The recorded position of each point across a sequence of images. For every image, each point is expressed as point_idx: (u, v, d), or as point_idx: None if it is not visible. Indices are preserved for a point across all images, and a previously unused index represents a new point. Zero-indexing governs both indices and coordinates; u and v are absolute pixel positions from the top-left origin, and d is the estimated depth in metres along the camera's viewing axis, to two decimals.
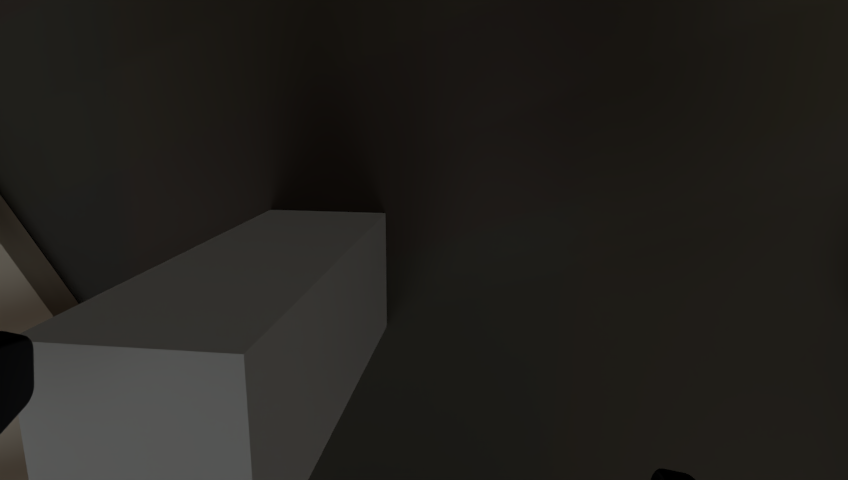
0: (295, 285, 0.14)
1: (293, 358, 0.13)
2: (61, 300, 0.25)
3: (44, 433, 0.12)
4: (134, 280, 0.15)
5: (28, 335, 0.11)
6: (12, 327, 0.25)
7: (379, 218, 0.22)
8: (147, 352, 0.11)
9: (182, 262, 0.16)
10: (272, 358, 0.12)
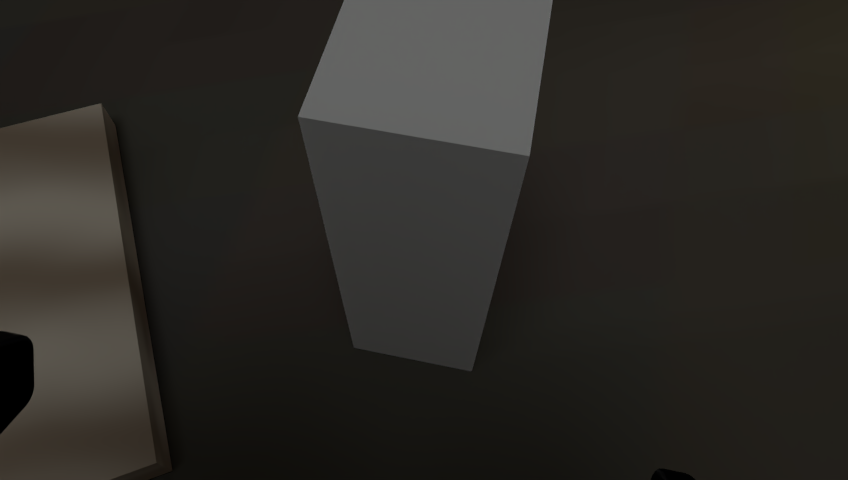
0: None
1: None
2: (135, 281, 0.24)
3: (357, 26, 0.13)
4: None
5: None
6: (74, 284, 0.23)
7: None
8: None
9: None
10: None
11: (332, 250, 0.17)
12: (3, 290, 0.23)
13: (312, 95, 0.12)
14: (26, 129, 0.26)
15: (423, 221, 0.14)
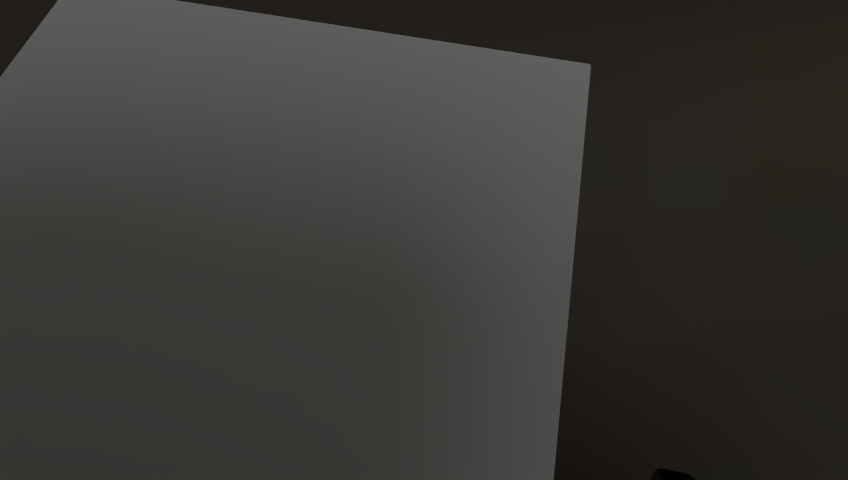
0: None
1: None
2: None
3: (10, 158, 0.04)
4: None
5: None
6: None
7: None
8: (375, 37, 0.05)
9: None
10: None
11: None
12: None
13: None
14: None
15: None
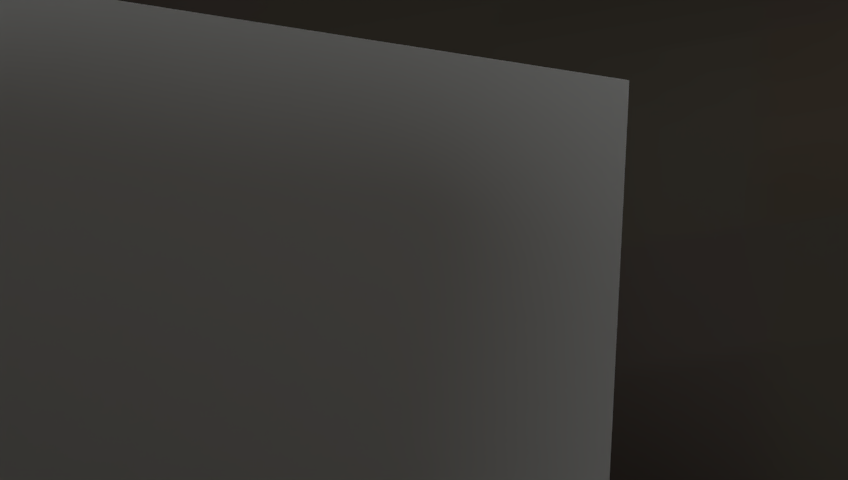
0: None
1: None
2: None
3: None
4: None
5: None
6: None
7: None
8: (309, 39, 0.03)
9: None
10: None
11: None
12: None
13: None
14: None
15: None
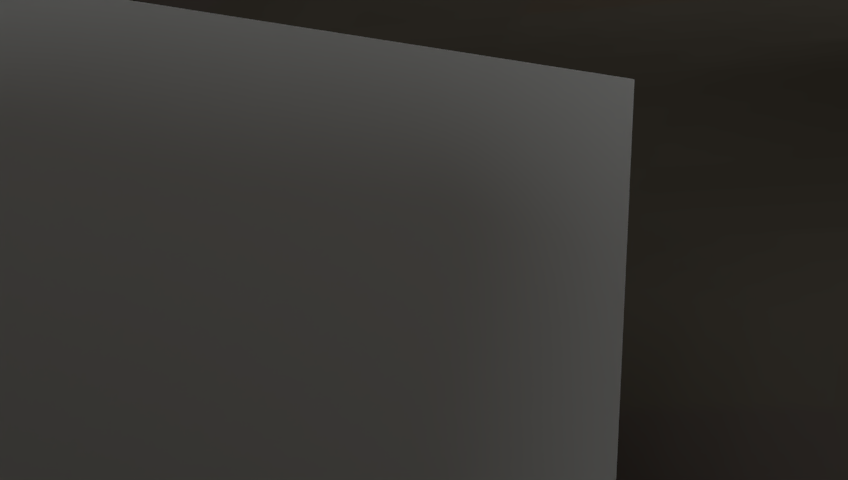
0: None
1: None
2: None
3: None
4: None
5: None
6: None
7: None
8: (314, 37, 0.03)
9: None
10: None
11: None
12: None
13: None
14: None
15: None
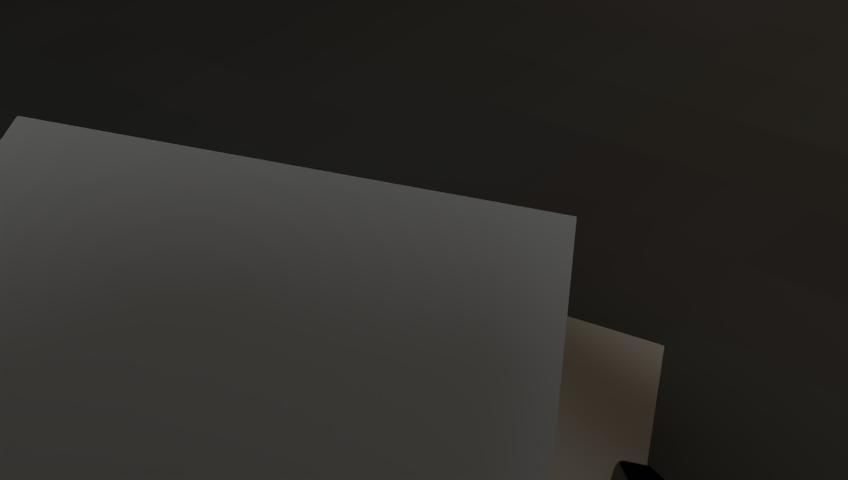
0: None
1: None
2: None
3: None
4: None
5: None
6: None
7: None
8: (344, 182, 0.05)
9: None
10: None
11: None
12: None
13: None
14: None
15: None
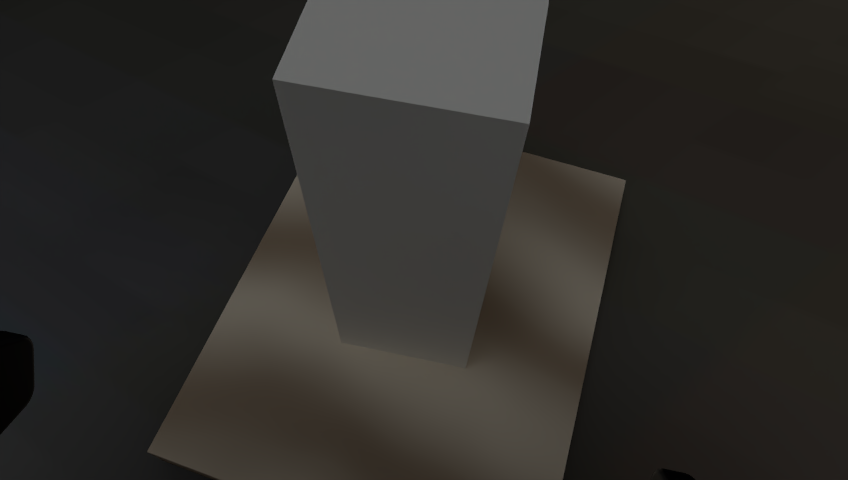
0: None
1: None
2: None
3: None
4: None
5: None
6: (534, 353, 0.22)
7: None
8: None
9: None
10: None
11: (315, 235, 0.15)
12: None
13: (289, 56, 0.11)
14: (550, 168, 0.26)
15: (412, 201, 0.13)
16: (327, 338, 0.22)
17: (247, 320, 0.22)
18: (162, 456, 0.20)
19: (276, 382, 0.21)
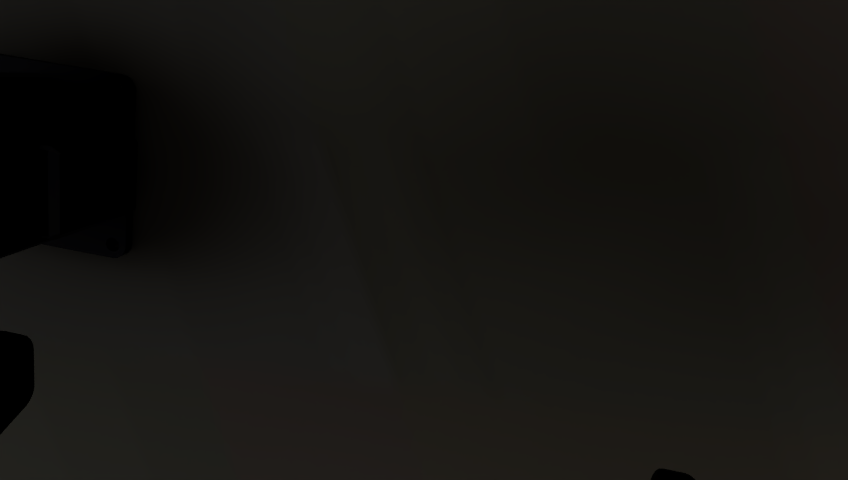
0: None
1: None
2: None
3: None
4: None
5: None
6: None
7: None
8: None
9: None
10: None
11: None
12: None
13: None
14: None
15: None
16: None
17: None
18: None
19: None
